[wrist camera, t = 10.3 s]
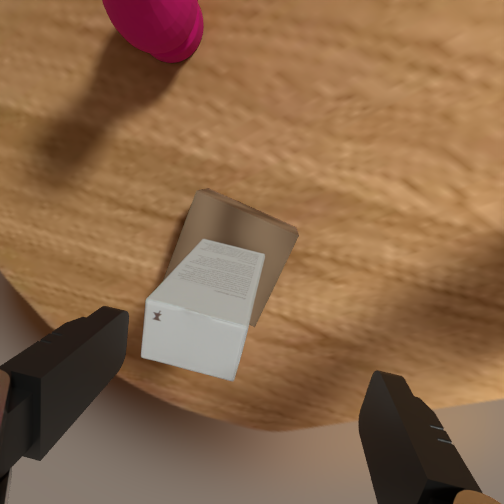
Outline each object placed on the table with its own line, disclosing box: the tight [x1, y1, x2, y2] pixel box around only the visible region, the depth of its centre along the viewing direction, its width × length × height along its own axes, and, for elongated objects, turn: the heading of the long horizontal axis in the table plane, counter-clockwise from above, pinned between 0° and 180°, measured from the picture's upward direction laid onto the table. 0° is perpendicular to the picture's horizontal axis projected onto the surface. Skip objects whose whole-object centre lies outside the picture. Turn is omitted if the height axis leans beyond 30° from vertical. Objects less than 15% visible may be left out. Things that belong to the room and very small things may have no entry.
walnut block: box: [163, 188, 299, 327], centre depth 32 cm, size 10×10×5 cm
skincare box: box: [141, 239, 265, 381], centre depth 23 cm, size 6×4×12 cm
